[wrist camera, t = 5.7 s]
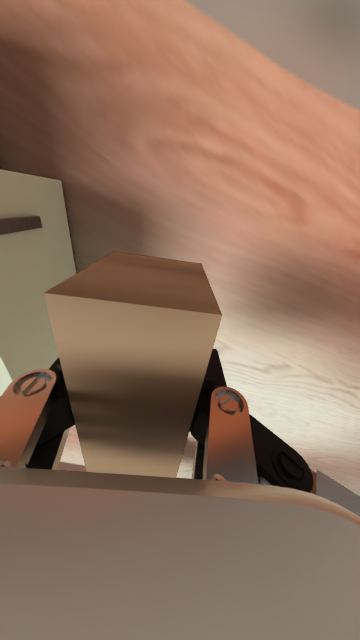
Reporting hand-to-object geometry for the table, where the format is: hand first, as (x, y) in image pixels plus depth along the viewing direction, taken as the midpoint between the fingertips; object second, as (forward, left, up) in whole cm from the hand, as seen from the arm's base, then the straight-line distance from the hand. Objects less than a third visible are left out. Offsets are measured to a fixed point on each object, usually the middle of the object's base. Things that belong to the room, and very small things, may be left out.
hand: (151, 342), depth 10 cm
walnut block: (0, 0, 0) cm, 0 cm away
